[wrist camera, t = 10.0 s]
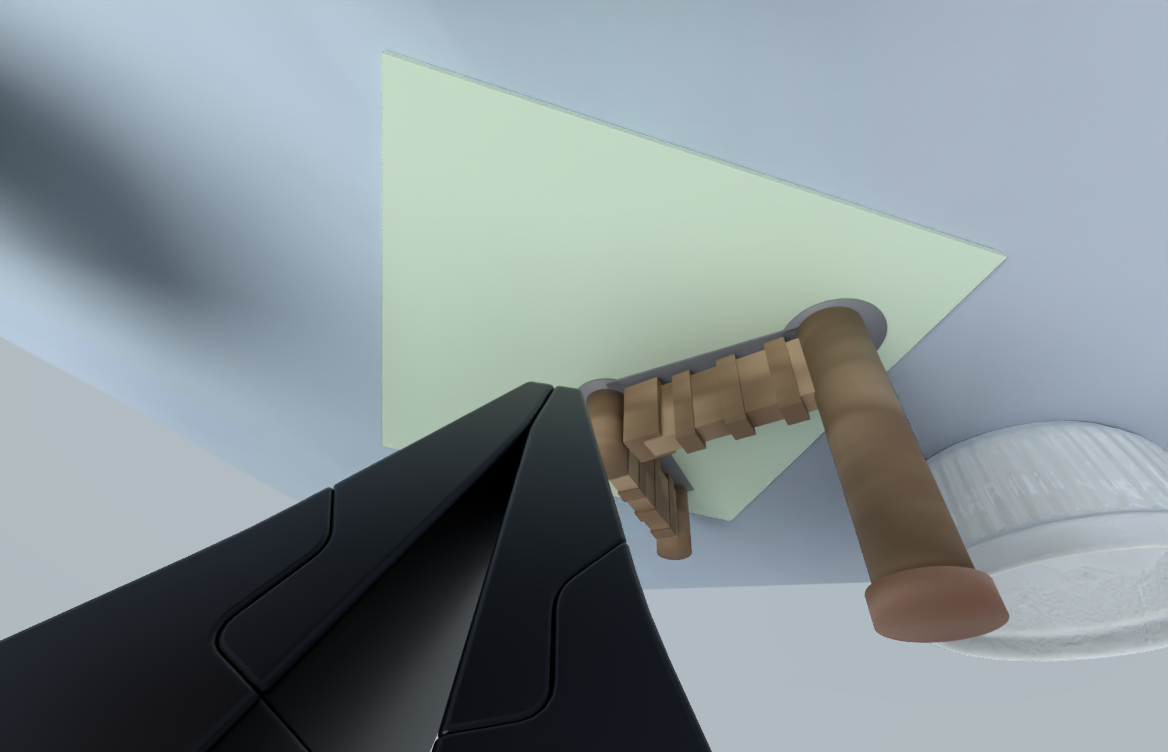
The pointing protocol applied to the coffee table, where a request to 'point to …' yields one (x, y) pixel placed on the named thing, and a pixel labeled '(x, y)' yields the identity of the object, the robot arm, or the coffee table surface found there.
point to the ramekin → (1063, 537)
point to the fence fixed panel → (640, 478)
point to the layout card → (617, 267)
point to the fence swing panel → (838, 465)
